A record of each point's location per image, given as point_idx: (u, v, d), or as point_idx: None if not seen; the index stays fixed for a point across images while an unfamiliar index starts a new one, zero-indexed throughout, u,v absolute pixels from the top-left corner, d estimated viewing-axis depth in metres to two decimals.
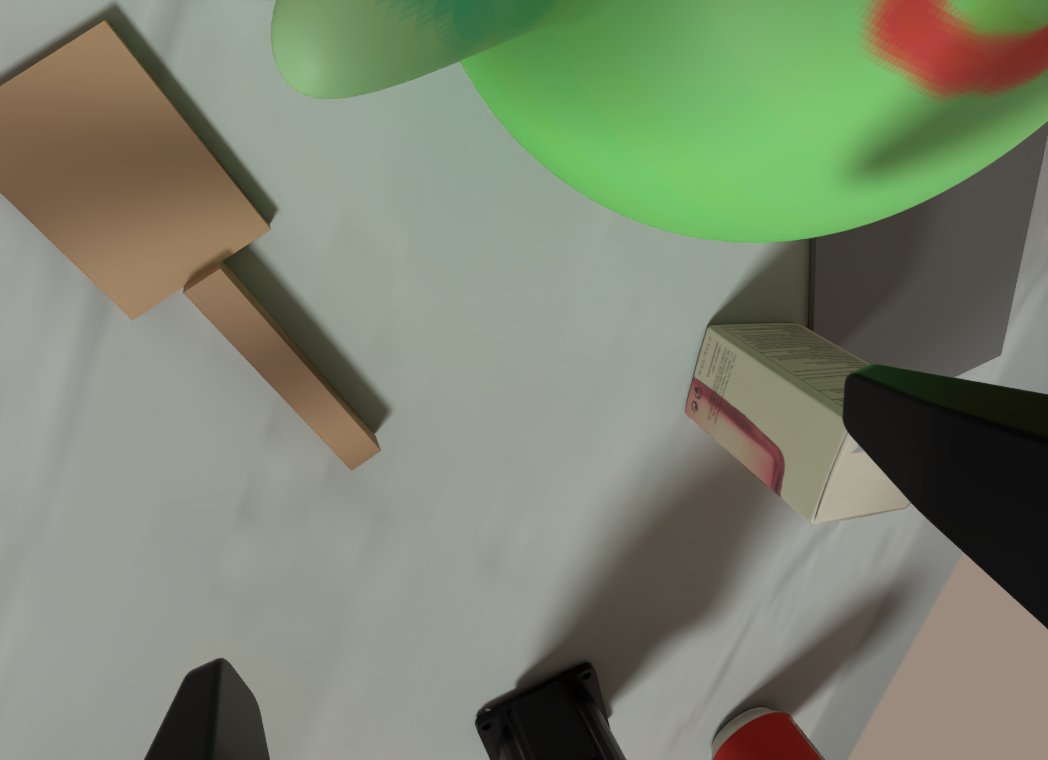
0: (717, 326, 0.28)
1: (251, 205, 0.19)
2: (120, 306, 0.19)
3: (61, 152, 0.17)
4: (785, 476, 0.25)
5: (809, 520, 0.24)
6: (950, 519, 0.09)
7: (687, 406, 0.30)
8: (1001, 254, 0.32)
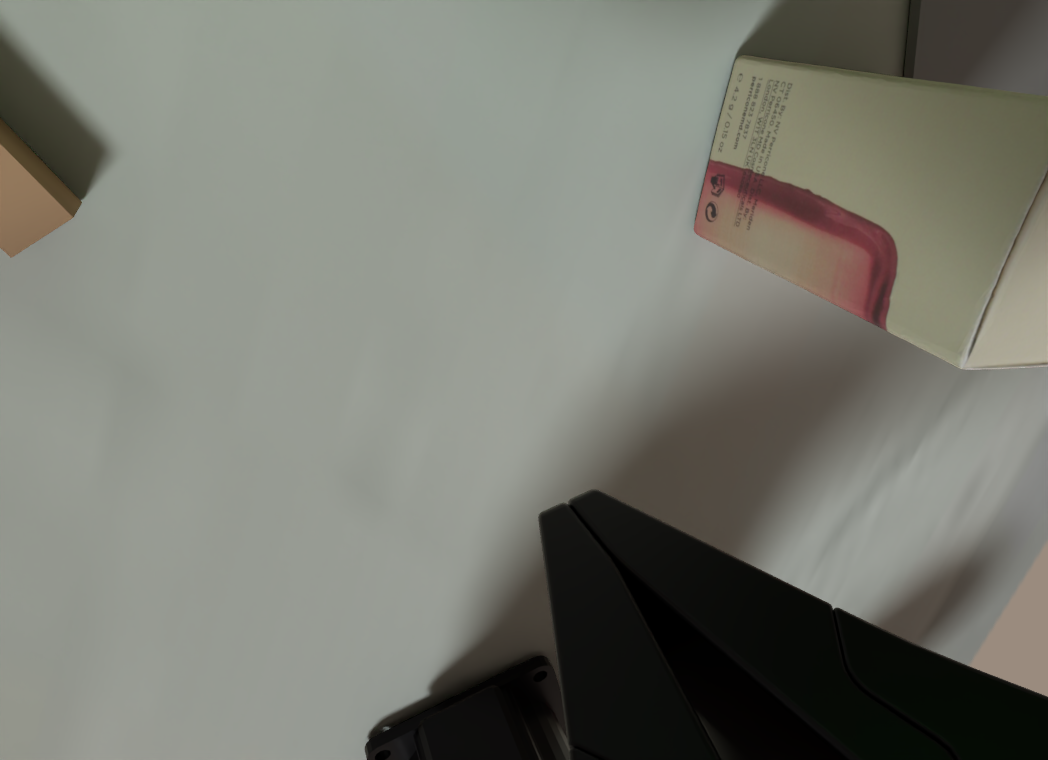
0: (753, 56, 0.16)
1: None
2: None
3: None
4: (898, 282, 0.12)
5: (956, 359, 0.11)
6: None
7: (698, 217, 0.17)
8: None
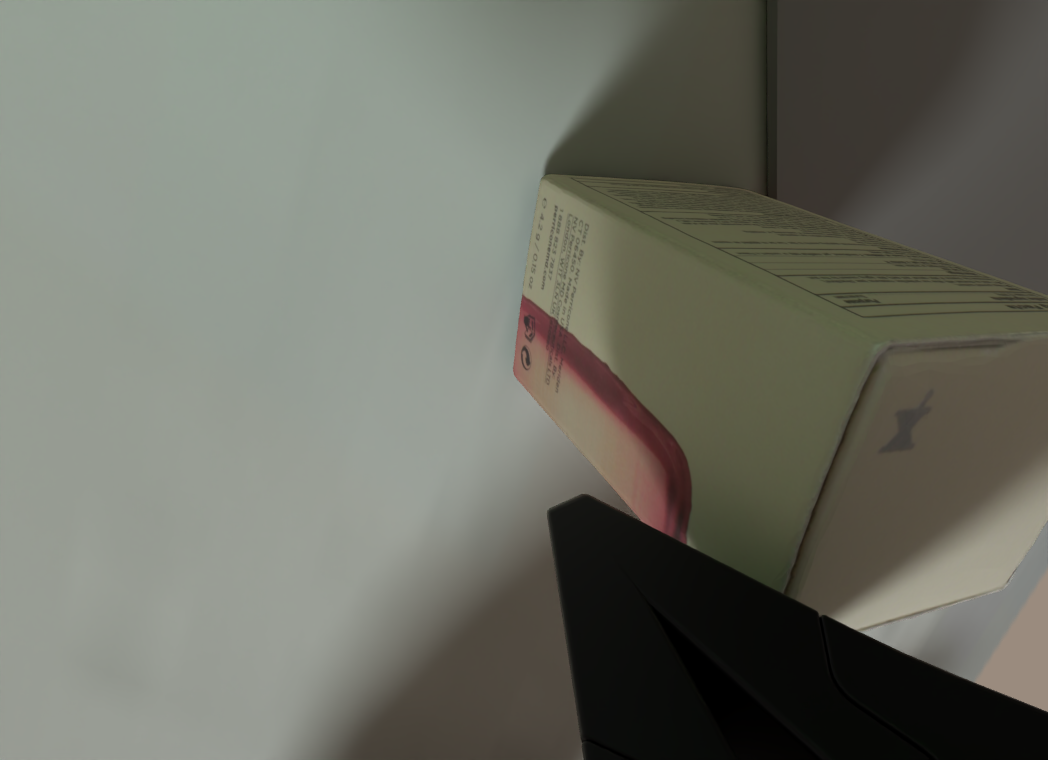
0: (561, 175, 0.13)
1: None
2: None
3: None
4: (694, 518, 0.09)
5: None
6: None
7: (515, 360, 0.14)
8: None
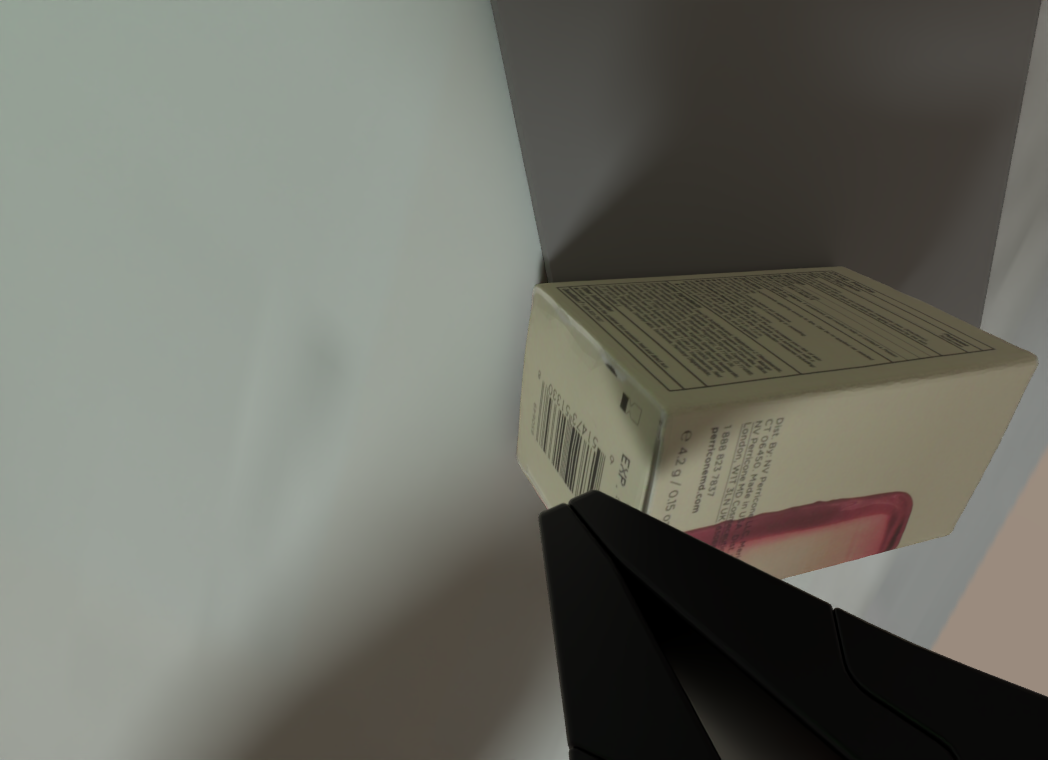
0: (668, 396, 0.10)
1: None
2: None
3: None
4: (911, 517, 0.13)
5: (949, 533, 0.14)
6: None
7: None
8: (971, 146, 0.16)
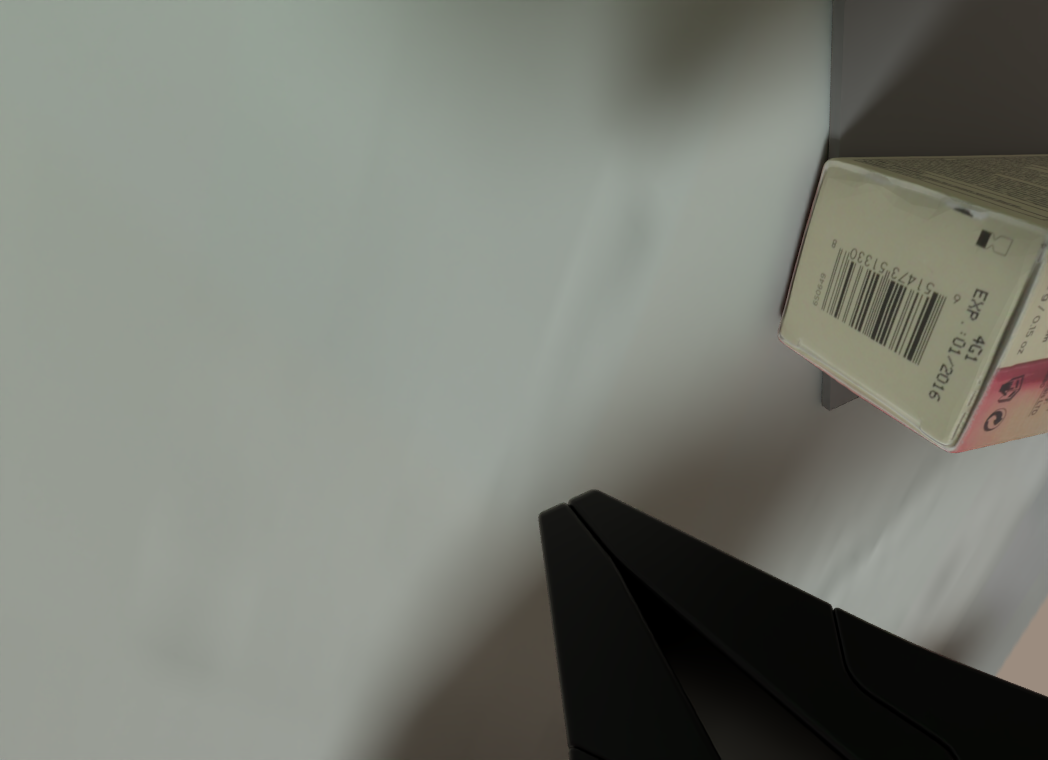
0: (1047, 222, 0.11)
1: None
2: None
3: None
4: None
5: None
6: None
7: (969, 436, 0.12)
8: None
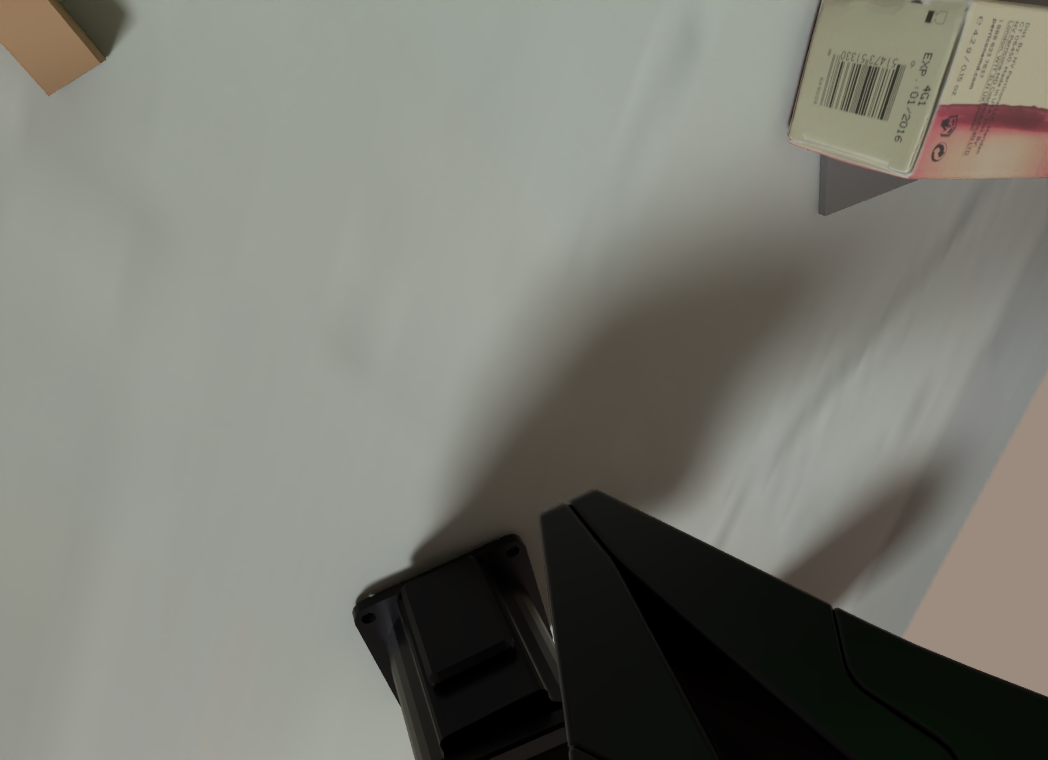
0: None
1: None
2: None
3: None
4: None
5: None
6: None
7: (921, 162, 0.18)
8: None
